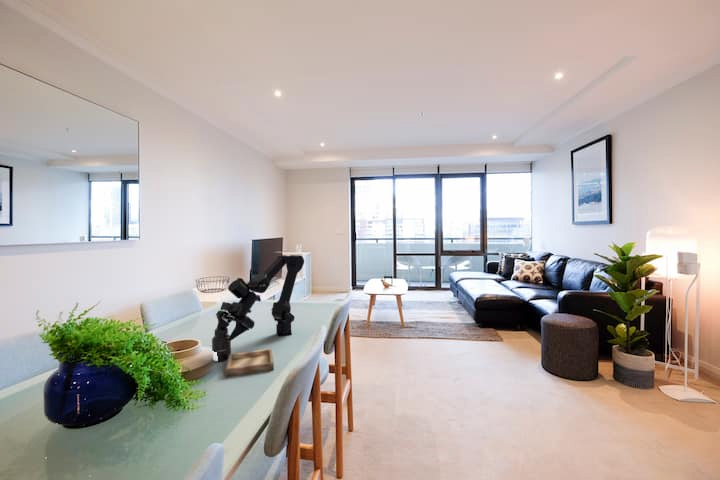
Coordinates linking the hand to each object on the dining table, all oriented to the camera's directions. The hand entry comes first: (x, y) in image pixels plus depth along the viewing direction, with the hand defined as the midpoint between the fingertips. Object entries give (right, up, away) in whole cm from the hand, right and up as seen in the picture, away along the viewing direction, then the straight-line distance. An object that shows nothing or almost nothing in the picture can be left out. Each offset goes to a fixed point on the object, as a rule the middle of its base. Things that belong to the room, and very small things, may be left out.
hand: (222, 338), depth 124 cm
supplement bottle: (0, -8, 0) cm, 8 cm away
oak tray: (+13, -8, -6) cm, 17 cm away
